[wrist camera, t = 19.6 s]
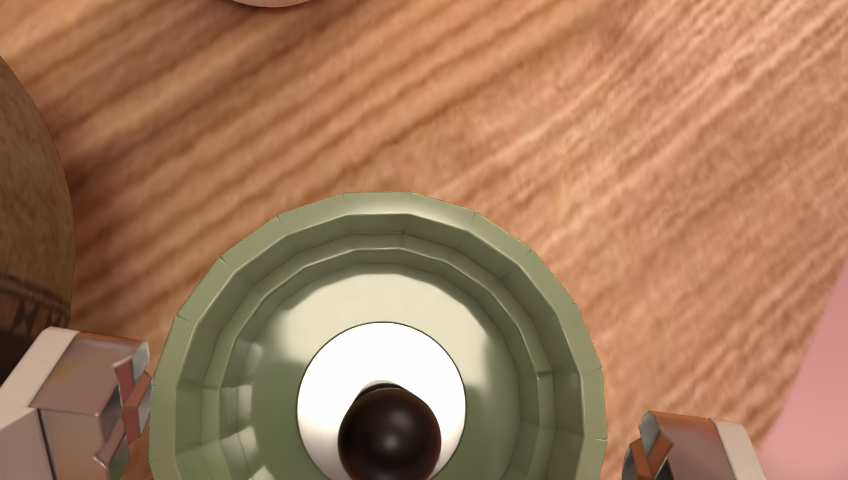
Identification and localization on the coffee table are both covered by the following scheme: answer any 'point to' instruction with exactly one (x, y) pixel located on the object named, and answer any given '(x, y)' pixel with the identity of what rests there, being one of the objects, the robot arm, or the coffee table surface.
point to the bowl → (369, 302)
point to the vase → (31, 227)
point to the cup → (271, 2)
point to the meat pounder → (381, 405)
